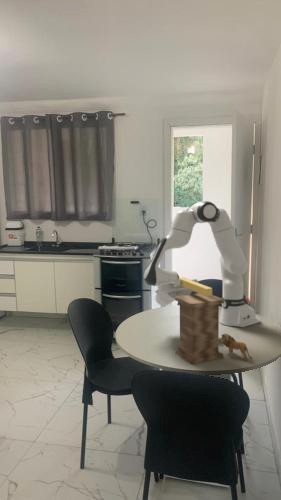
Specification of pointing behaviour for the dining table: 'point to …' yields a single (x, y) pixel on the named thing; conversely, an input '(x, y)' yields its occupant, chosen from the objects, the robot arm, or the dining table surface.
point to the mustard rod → (196, 287)
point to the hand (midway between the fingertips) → (185, 281)
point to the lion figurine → (234, 345)
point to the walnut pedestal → (199, 327)
